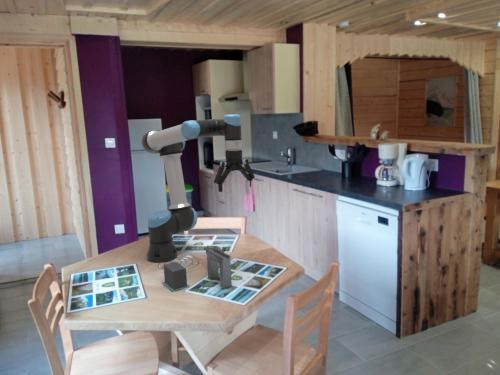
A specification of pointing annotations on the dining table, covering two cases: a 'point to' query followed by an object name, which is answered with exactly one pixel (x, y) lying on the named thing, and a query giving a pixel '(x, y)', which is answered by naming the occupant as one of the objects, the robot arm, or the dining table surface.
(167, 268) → the plug
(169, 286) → the mat
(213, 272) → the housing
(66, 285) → the dining table surface
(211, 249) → the mechanical component
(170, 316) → the dining table surface
